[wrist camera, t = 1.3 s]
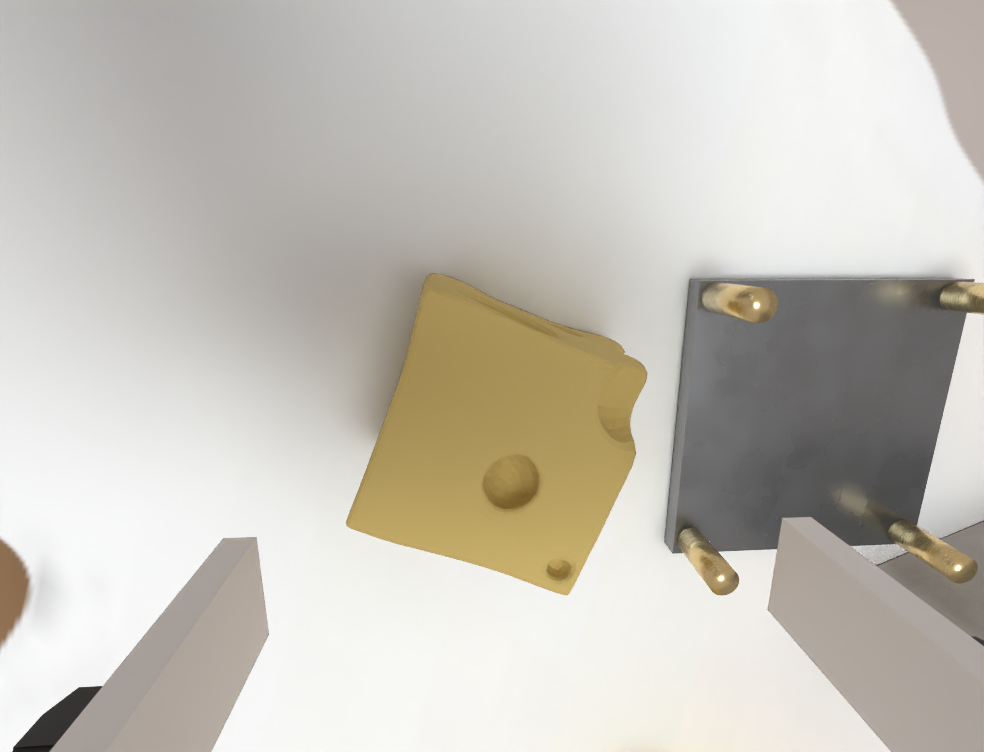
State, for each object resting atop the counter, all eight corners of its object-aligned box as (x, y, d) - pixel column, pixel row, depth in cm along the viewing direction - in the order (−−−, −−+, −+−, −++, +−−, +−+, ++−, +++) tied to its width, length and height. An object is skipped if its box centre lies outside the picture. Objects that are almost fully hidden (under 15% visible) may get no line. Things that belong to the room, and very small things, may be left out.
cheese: (609, 336, 28) (689, 382, 18) (533, 499, 30) (570, 617, 20) (435, 265, 26) (424, 274, 17) (369, 442, 29) (324, 541, 19)
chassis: (689, 279, 27) (742, 285, 22) (953, 278, 28) (1060, 284, 23) (664, 542, 31) (704, 597, 26) (896, 532, 32) (976, 584, 27)
